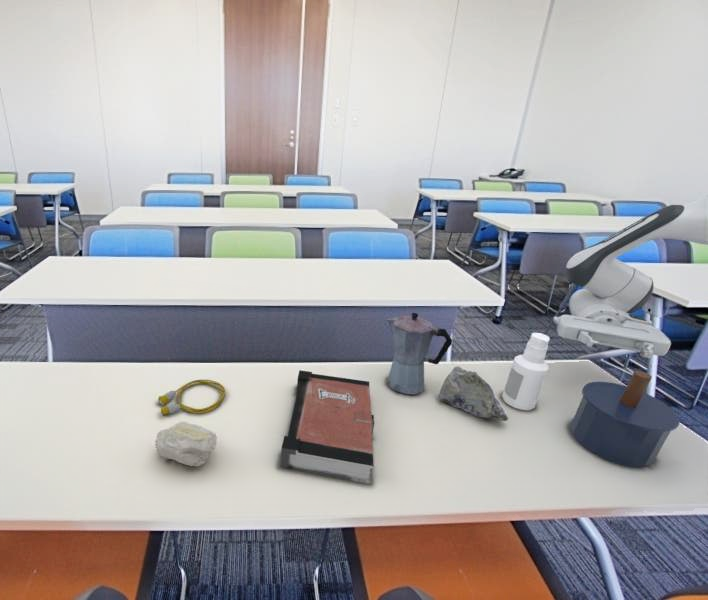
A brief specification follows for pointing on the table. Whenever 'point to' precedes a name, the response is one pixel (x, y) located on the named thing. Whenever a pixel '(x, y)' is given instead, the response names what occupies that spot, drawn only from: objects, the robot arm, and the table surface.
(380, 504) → the table surface
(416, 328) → the moka pot
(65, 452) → the table surface
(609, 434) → the pot
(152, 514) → the table surface
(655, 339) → the robot arm
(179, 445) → the white rock
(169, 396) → the extension cord
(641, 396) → the lid
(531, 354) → the spray bottle
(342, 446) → the book
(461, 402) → the mineral rock
